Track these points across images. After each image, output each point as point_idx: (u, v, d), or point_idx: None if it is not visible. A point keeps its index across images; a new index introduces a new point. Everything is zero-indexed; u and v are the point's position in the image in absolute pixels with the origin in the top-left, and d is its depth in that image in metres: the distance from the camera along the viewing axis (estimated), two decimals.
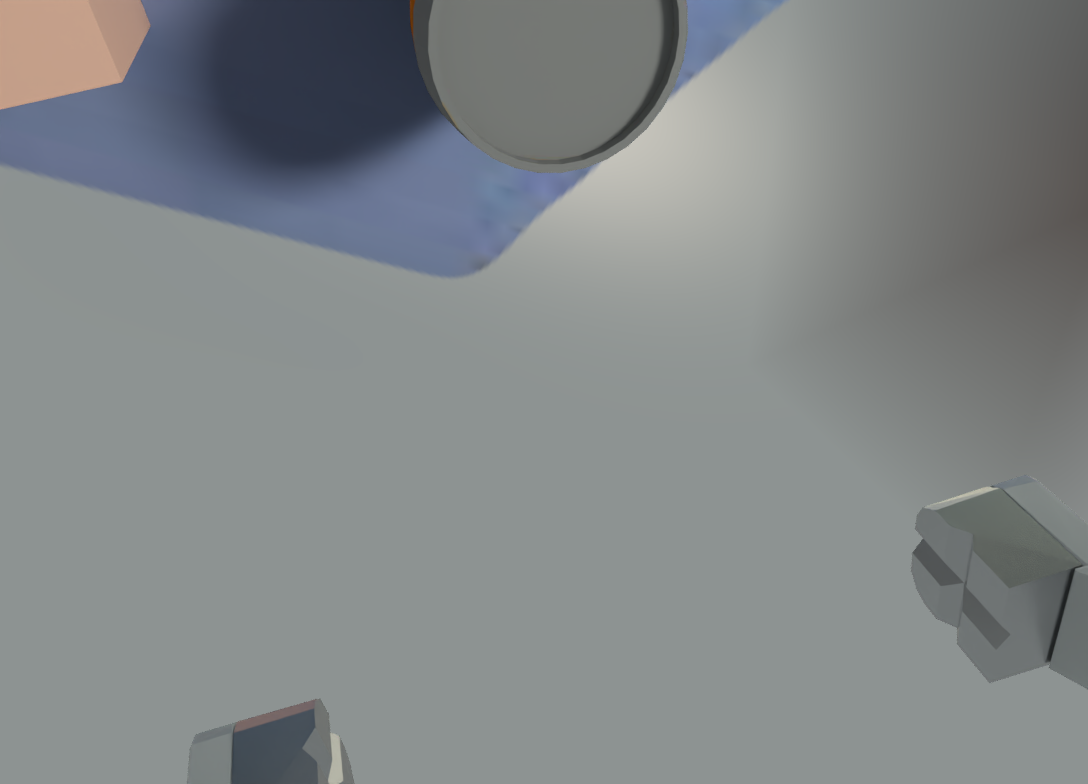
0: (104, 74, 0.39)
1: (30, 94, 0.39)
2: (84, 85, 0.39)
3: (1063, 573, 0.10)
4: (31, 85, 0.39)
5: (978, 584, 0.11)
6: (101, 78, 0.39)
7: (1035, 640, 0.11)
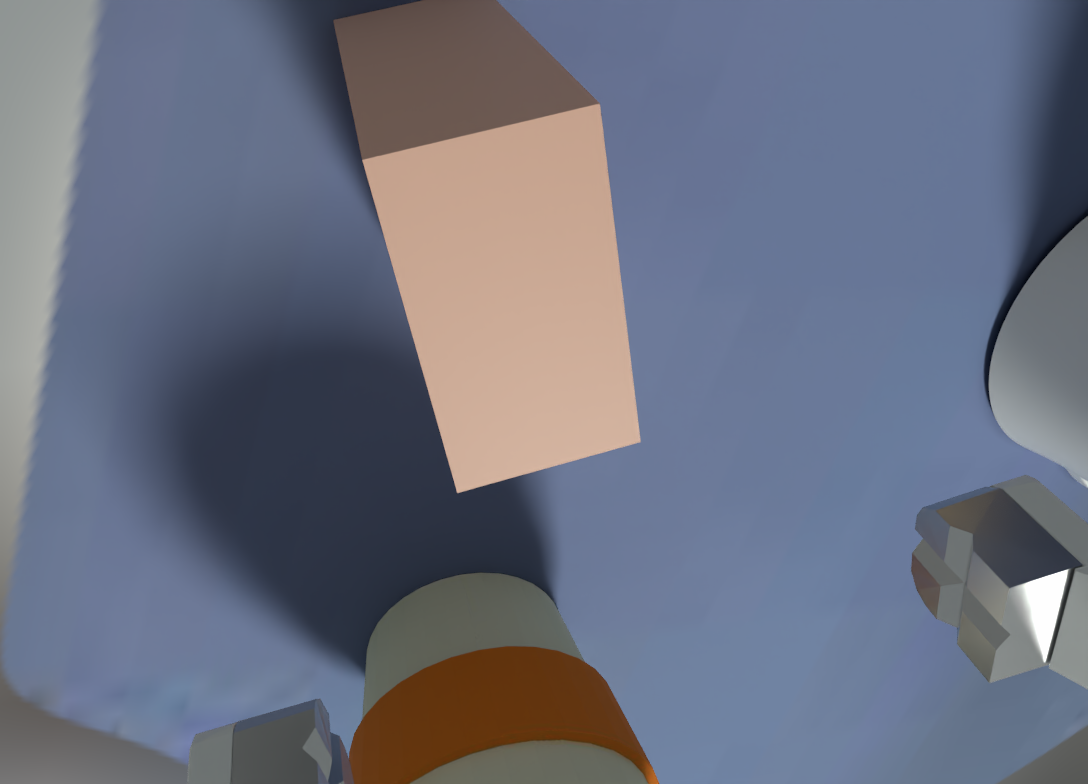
0: (471, 469, 0.20)
1: (433, 353, 0.18)
2: (451, 438, 0.20)
3: (1063, 573, 0.10)
4: (452, 357, 0.19)
5: (978, 584, 0.11)
6: (464, 464, 0.20)
7: (1035, 640, 0.11)
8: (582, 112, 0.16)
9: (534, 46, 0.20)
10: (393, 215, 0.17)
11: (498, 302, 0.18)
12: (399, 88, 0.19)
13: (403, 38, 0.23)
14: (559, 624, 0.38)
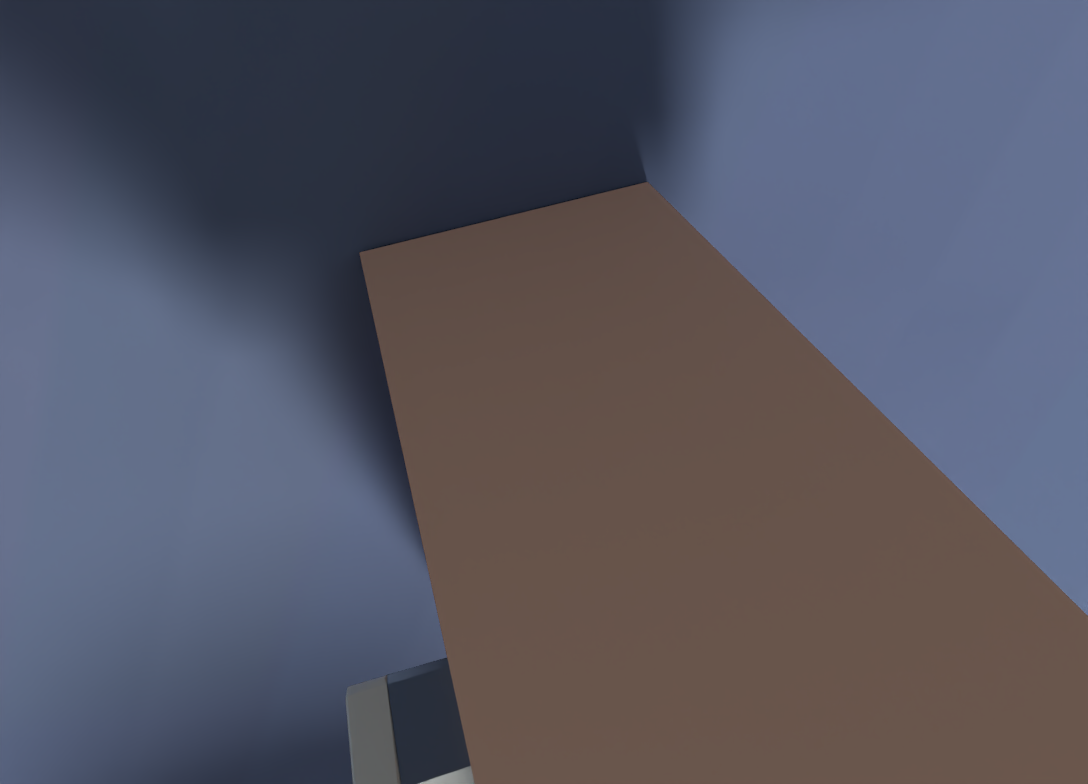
0: None
1: None
2: None
3: None
4: None
5: None
6: None
7: None
8: None
9: (933, 485, 0.08)
10: None
11: None
12: (608, 683, 0.06)
13: (534, 362, 0.10)
14: None
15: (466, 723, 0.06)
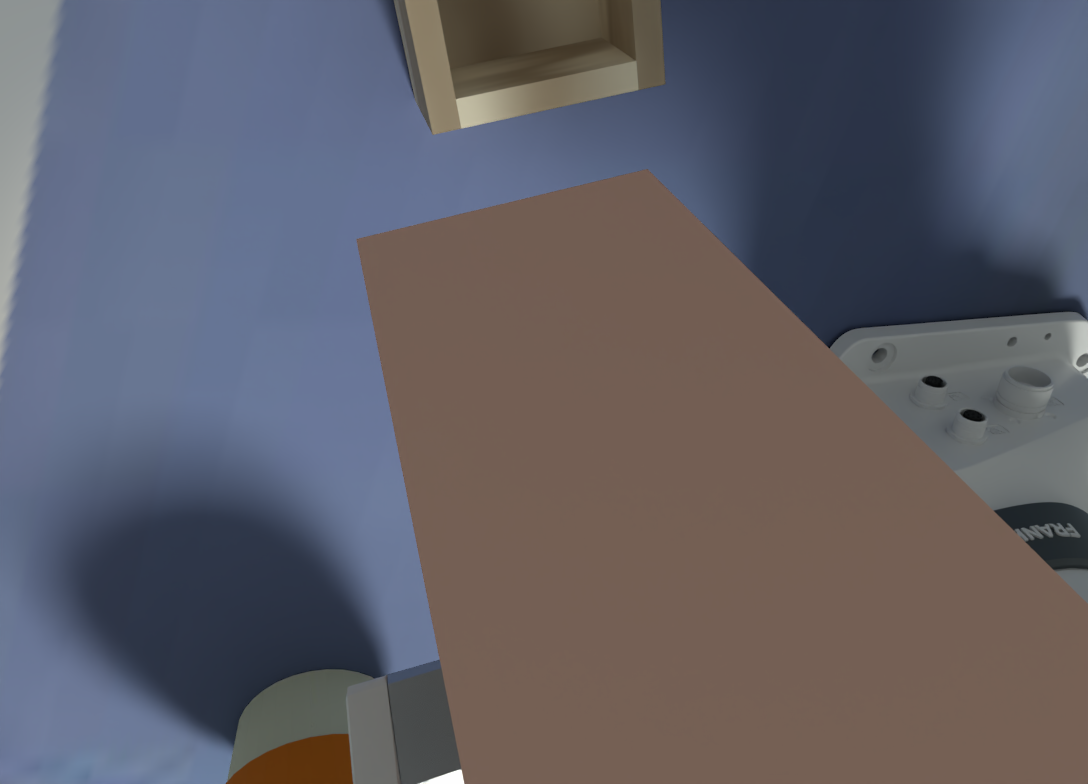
0: None
1: None
2: None
3: None
4: None
5: None
6: None
7: None
8: None
9: (930, 470, 0.07)
10: None
11: None
12: (596, 666, 0.06)
13: (530, 348, 0.10)
14: None
15: (453, 706, 0.06)
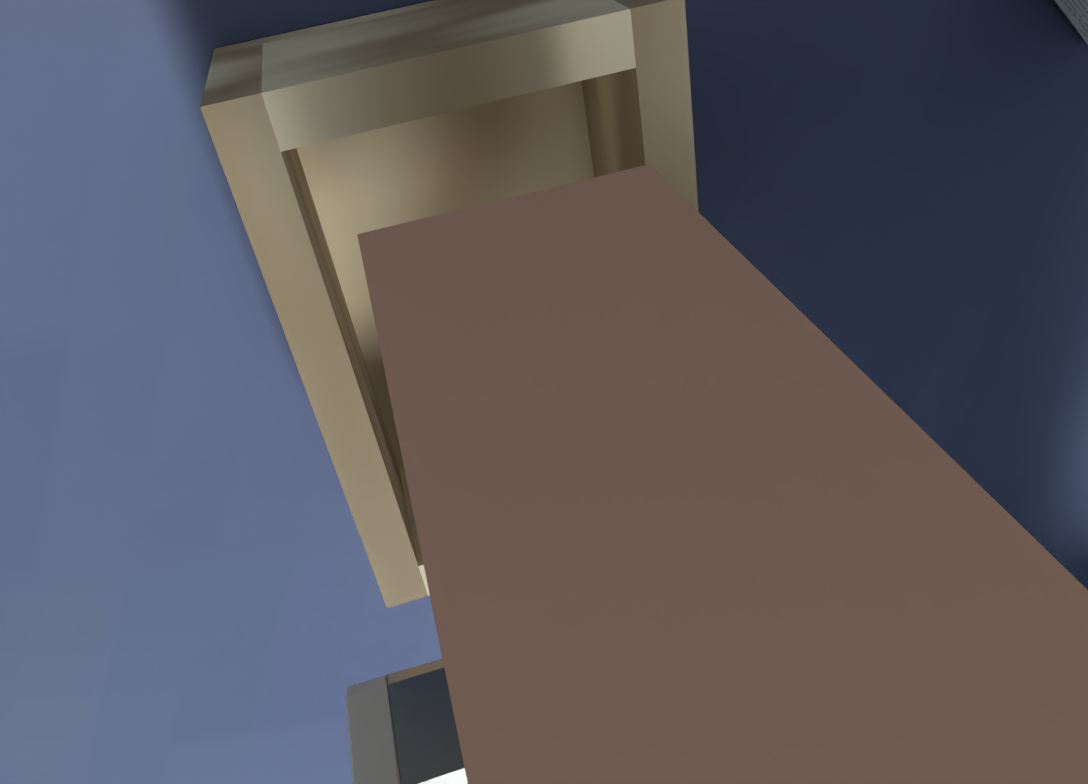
0: None
1: None
2: None
3: None
4: None
5: None
6: None
7: None
8: None
9: (935, 463, 0.07)
10: None
11: None
12: (599, 660, 0.06)
13: (532, 342, 0.10)
14: None
15: (455, 700, 0.06)
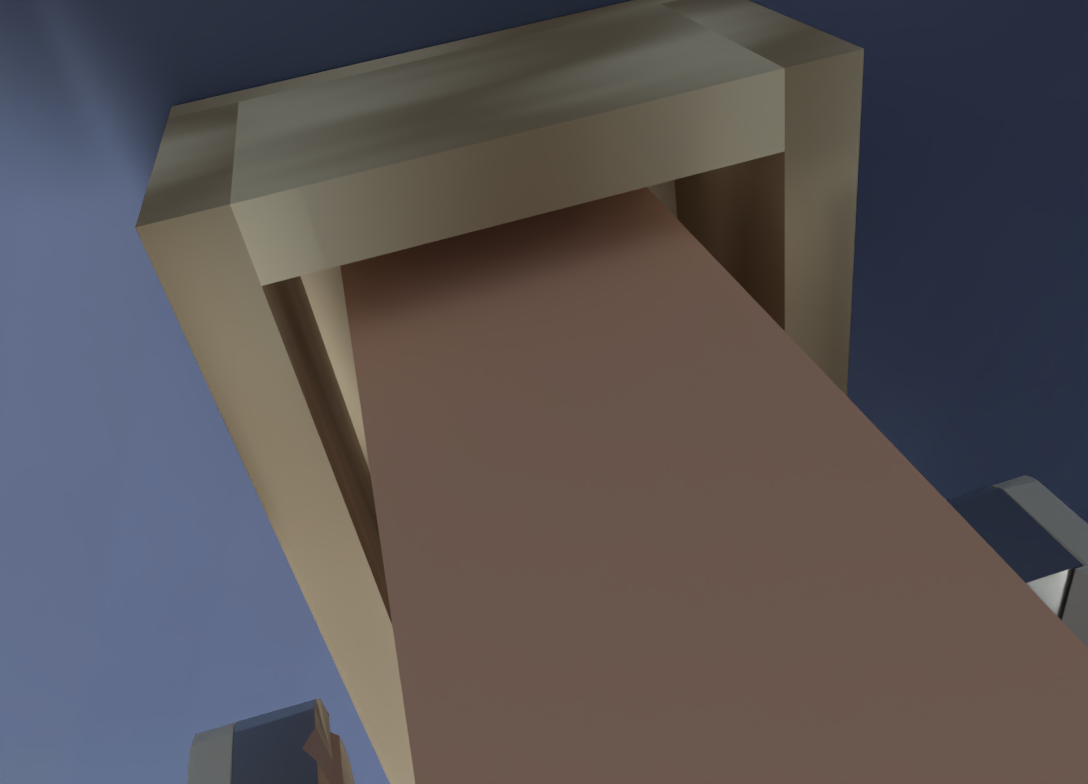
0: None
1: None
2: None
3: (1063, 573, 0.10)
4: None
5: None
6: None
7: None
8: None
9: (813, 381, 0.09)
10: None
11: None
12: (510, 545, 0.07)
13: (479, 297, 0.11)
14: None
15: (389, 580, 0.07)
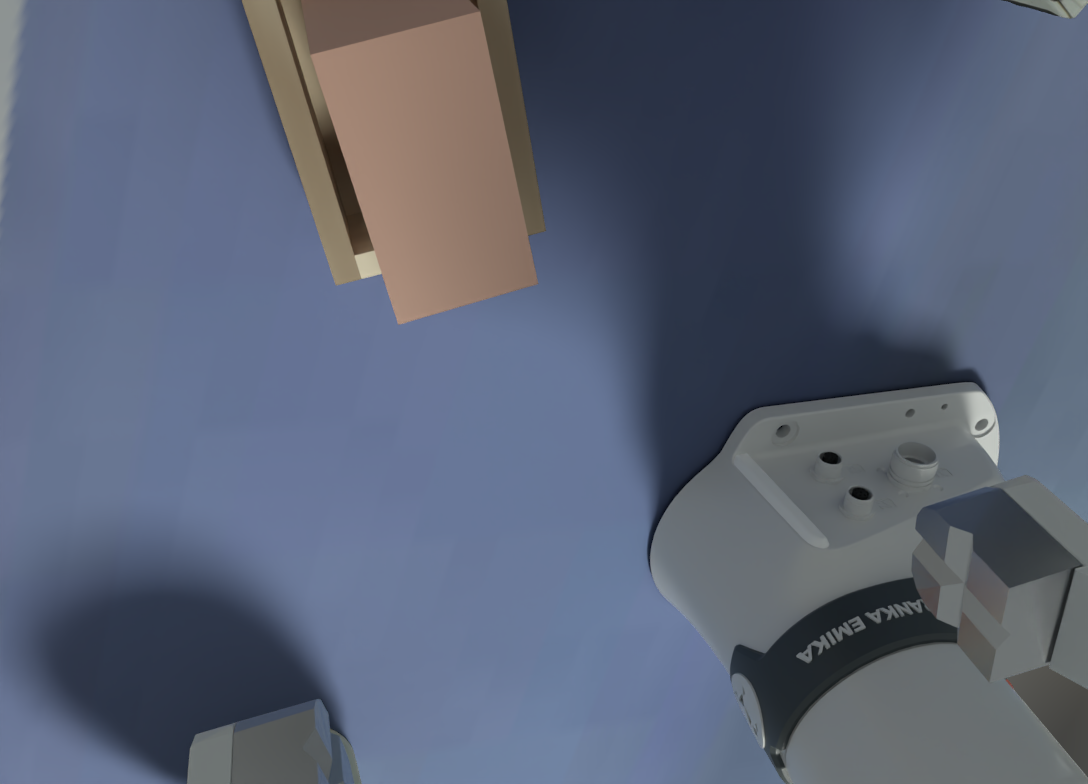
0: (408, 304, 0.27)
1: (372, 207, 0.25)
2: (390, 278, 0.26)
3: (1063, 573, 0.10)
4: (387, 210, 0.25)
5: (978, 584, 0.11)
6: (402, 300, 0.27)
7: (1035, 640, 0.11)
8: (468, 18, 0.23)
9: None
10: (335, 97, 0.23)
11: (417, 166, 0.25)
12: (341, 14, 0.26)
13: None
14: None
15: (305, 22, 0.25)
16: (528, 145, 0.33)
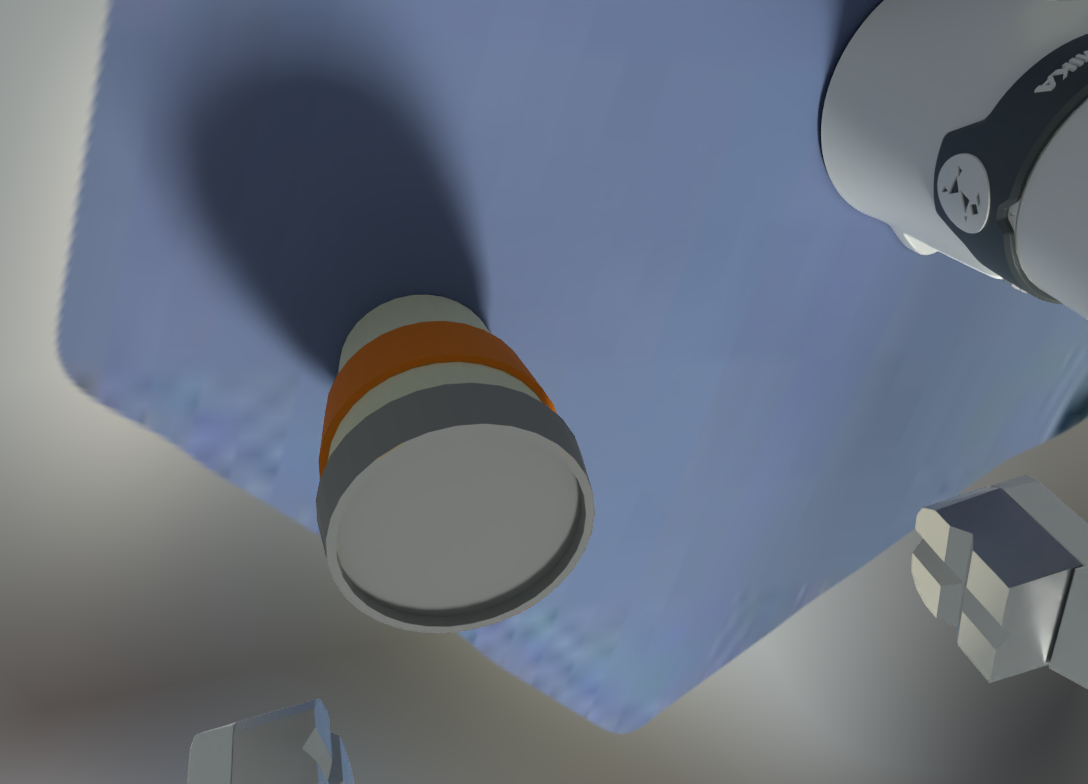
0: None
1: None
2: None
3: (1063, 573, 0.10)
4: None
5: (978, 584, 0.11)
6: None
7: (1035, 640, 0.11)
8: None
9: None
10: None
11: None
12: None
13: None
14: (489, 332, 0.49)
15: None
16: None
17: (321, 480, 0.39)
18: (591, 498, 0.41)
